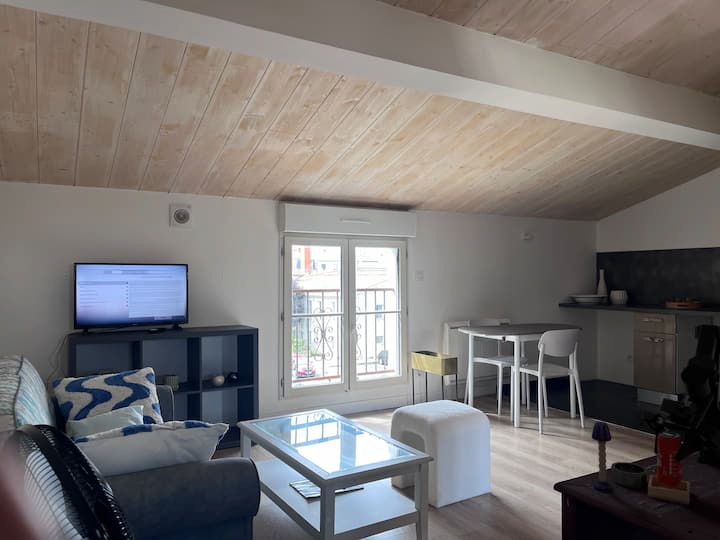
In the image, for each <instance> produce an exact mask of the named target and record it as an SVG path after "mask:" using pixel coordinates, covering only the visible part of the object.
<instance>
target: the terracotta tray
mask: <svg viewBox="0 0 720 540" xmlns="http://www.w3.org/2000/svg"><path fill="white" fill-rule="evenodd" d="M690 485H691V482H690V481H686V480H682V479H681V482H680V483H679V486H667V485H664V484H662V483H660V482H659V479H658V477H657V475H653V474H650V475H649V480H648V483H647V497H649V498H653V499H658V500H663V501H668V502H674V503H678V504H684V505H691V504H690V503H691V501H690V499H691V498H690Z"/></svg>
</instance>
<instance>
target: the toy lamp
mask: <svg viewBox="0 0 720 540" xmlns="http://www.w3.org/2000/svg"><path fill="white" fill-rule="evenodd" d="M591 439H592V440H594V441H597V444H598V447H597V449H598V453H597V454H598V469H599V470H598V475H599V476H598V480H597V481H596V482H595V483H594V485H593V488H594V489H595V490H596V491H599V492H602V491H603V492H604V493H610V492H612V491H613V486H612V485H611V484H610V483H611V482H609V481H607V479H608V478H607V470H606V469H607V458H606V457H607V453H606V452H607V447H606V444H607V442H611V441H612V434H611V431H610V428H609V425H608V422H605V421H595V422H594V424H593V428H592V433H591Z"/></svg>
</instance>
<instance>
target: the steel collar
mask: <svg viewBox="0 0 720 540" xmlns="http://www.w3.org/2000/svg"><path fill="white" fill-rule="evenodd" d="M648 470H649V469H648V468H646V467H645V466H643V465H640V464H637V463H633V462H626V461H624V462H623V461H617V462H613V463H612V464H611V466H610V479H611V481H612V482H614V483H615V484H617V485H619V486H622V487H627V488H628V487H629V488H633V489H634V488H637V489H639V488H640V489H641V488H642V489H643V488H645V487H648V484H649V480H648V478H649V476H648Z"/></svg>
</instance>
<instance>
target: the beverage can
mask: <svg viewBox="0 0 720 540" xmlns="http://www.w3.org/2000/svg"><path fill="white" fill-rule="evenodd" d="M682 444H683V440H682V436H681V434H679V433H676V432H673V431H668V432H659V435H658V455H657V457H656V458H657V465H656V467H657V468H656V469H657V470H656V476H657V477H658V479H659V482H660V483H662V484H664V485H667V486H679V483H680V482H681V480H682V465H683V464H682V462H683V459H682V460H681V461H679V462H677V461H676V460H675V457H676V455H677V453H678V451H679V449H680V447H681V445H682Z"/></svg>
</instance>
